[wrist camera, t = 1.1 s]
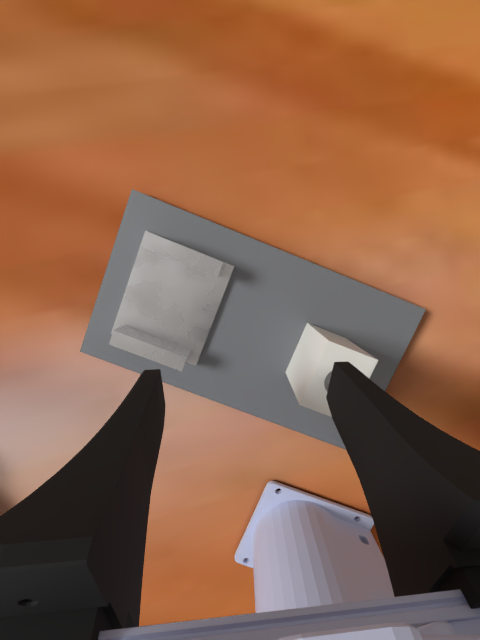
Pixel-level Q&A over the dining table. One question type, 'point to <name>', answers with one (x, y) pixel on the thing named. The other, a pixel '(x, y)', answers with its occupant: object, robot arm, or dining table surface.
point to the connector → (322, 365)
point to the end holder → (169, 302)
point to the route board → (253, 317)
